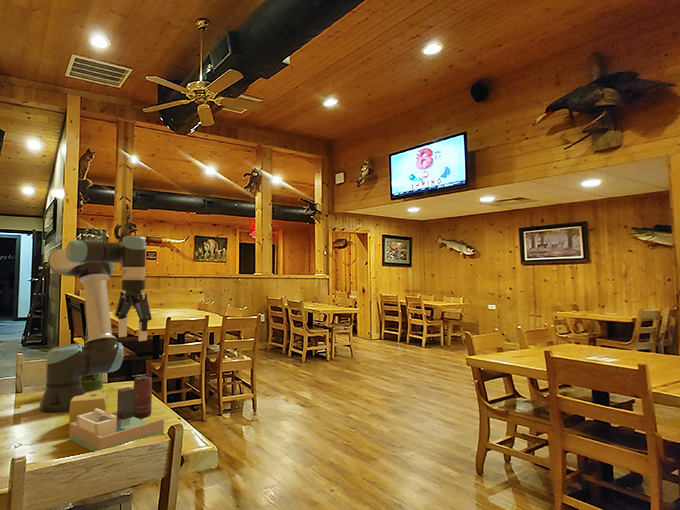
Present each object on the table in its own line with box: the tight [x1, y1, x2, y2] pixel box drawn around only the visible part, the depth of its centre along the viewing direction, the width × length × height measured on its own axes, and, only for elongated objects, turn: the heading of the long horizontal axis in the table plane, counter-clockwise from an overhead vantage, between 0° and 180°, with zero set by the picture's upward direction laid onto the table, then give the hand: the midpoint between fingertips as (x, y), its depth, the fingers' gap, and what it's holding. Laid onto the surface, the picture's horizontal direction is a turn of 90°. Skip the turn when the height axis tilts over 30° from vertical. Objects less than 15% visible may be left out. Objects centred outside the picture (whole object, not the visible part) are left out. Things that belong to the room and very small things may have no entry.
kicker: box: [106, 386, 134, 432], centre depth 142 cm, size 7×6×12 cm
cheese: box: [68, 390, 108, 424], centre depth 152 cm, size 10×11×10 cm
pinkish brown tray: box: [68, 410, 165, 452], centre depth 141 cm, size 20×20×5 cm
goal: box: [77, 408, 117, 436], centre depth 136 cm, size 12×6×7 cm, turn 54°
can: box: [133, 375, 153, 419], centre depth 162 cm, size 6×6×14 cm
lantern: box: [81, 323, 104, 393], centre depth 197 cm, size 14×11×30 cm
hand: (132, 338), depth 158 cm, fingers open, 13 cm apart
